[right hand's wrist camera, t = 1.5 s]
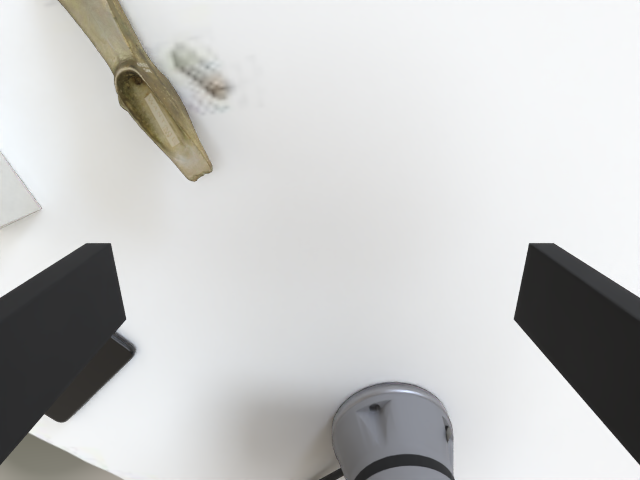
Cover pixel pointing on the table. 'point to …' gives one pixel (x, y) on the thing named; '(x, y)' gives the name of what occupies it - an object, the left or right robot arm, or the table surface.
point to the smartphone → (92, 378)
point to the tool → (141, 84)
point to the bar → (13, 196)
